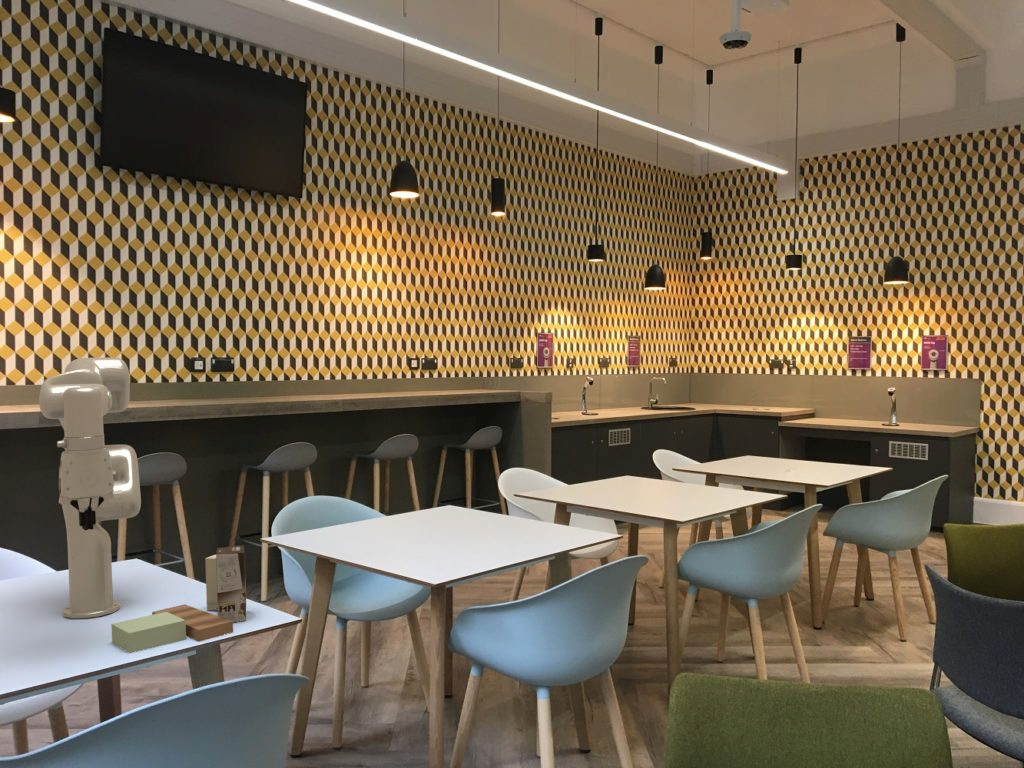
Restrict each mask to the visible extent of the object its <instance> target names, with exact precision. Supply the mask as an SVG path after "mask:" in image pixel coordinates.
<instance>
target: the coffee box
mask: <svg viewBox="0 0 1024 768" xmlns="http://www.w3.org/2000/svg"><path fill="white" fill-rule="evenodd" d="M215 555H216V570H217V602H218V610H217V616H219V617H222V618H225V619H228V620H231V621H233V623H239V622H240V623H241V622H246V620H247V582H246V581H247V579H246V577H247V576H246V575H247V574H246V553H245V545H235V546H234V545H231V546H225V547H217V548H216V554H215Z"/></svg>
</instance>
